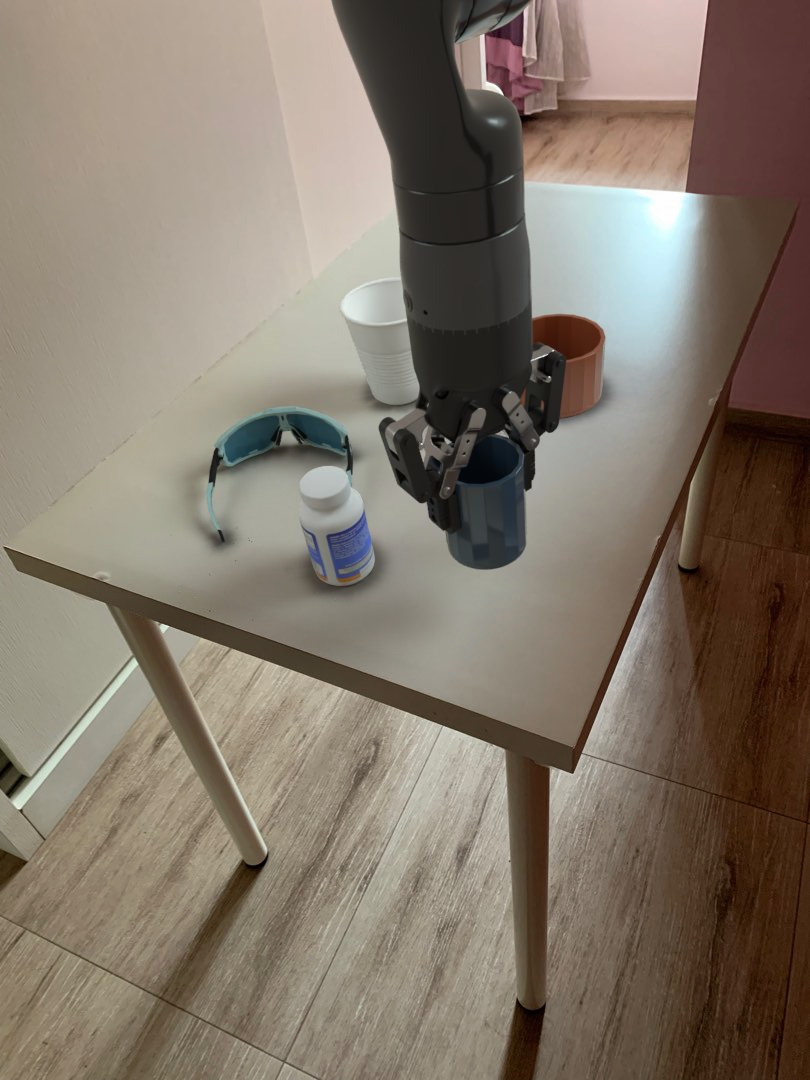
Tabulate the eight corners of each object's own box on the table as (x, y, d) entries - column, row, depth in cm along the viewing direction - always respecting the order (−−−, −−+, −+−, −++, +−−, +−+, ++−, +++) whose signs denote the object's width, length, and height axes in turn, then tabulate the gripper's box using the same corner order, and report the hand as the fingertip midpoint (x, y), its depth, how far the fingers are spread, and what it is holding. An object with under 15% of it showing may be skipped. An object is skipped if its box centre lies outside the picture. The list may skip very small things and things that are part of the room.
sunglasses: (358, 434, 84) (350, 398, 80) (355, 546, 75) (346, 512, 71) (226, 446, 85) (212, 411, 82) (207, 558, 76) (190, 525, 72)
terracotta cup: (620, 391, 85) (625, 336, 80) (552, 429, 81) (553, 374, 77) (558, 357, 91) (559, 304, 86) (492, 391, 87) (490, 338, 83)
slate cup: (543, 543, 61) (541, 459, 55) (480, 582, 59) (472, 499, 53) (492, 504, 65) (486, 422, 59) (432, 539, 63) (420, 458, 57)
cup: (461, 377, 90) (453, 285, 82) (414, 426, 84) (402, 332, 77) (387, 359, 95) (373, 270, 87) (338, 405, 89) (319, 314, 81)
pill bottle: (383, 547, 72) (366, 462, 65) (364, 592, 68) (345, 506, 62) (326, 540, 73) (304, 456, 67) (305, 584, 70) (280, 499, 63)
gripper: (403, 365, 43) (435, 581, 54) (602, 269, 48) (593, 486, 59) (332, 317, 48) (375, 525, 59) (519, 235, 53) (525, 442, 64)
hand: (484, 505), depth 59 cm, fingers closed on slate cup, 6 cm apart
